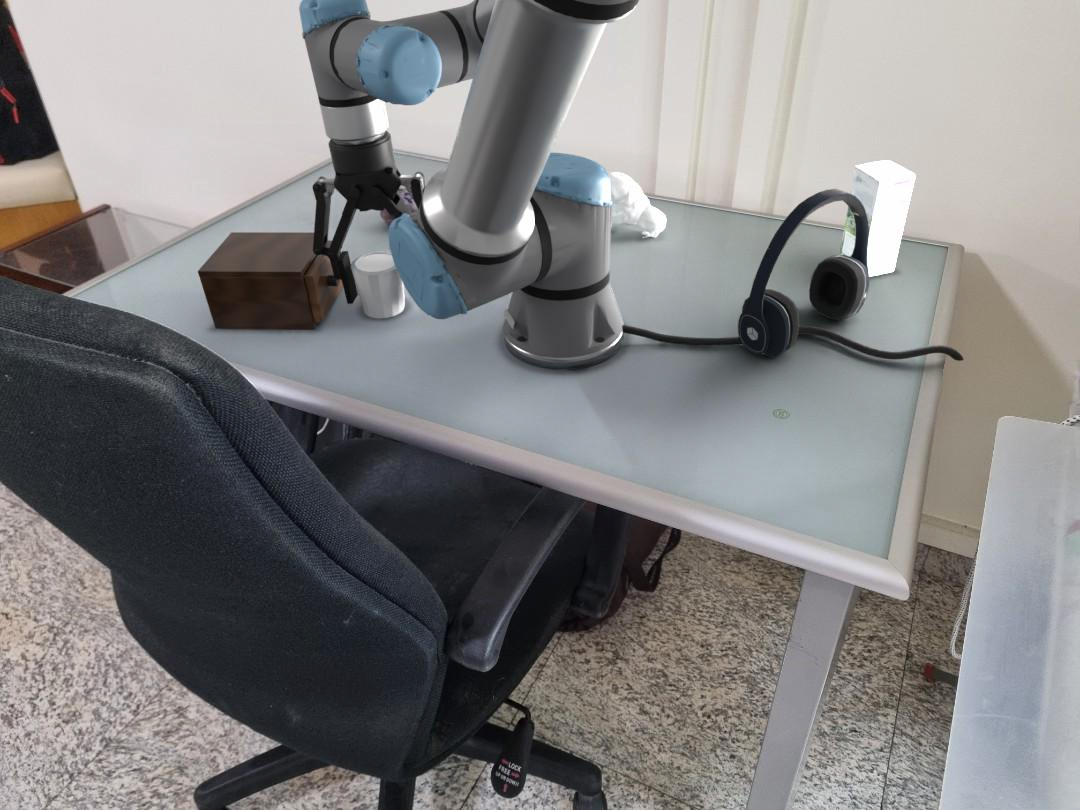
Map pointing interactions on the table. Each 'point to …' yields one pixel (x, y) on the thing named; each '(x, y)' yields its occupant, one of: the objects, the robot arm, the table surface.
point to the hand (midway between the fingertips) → (392, 298)
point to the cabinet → (260, 281)
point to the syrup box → (880, 212)
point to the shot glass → (378, 284)
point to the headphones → (832, 288)
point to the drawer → (321, 286)
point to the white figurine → (633, 206)
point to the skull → (408, 201)
